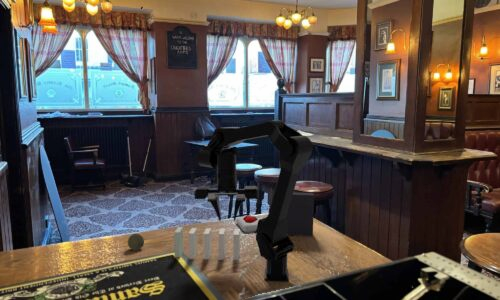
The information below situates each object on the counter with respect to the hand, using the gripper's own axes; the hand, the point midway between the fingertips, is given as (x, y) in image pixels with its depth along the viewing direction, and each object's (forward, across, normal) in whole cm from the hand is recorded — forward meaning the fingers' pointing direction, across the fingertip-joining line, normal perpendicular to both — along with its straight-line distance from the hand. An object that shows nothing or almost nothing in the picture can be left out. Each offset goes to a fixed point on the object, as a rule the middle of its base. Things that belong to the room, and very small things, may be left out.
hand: (227, 220), depth 115 cm
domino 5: (+12, -3, 0) cm, 12 cm away
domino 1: (+11, +15, -1) cm, 19 cm away
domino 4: (+12, +2, 0) cm, 12 cm away
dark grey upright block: (+12, -23, -22) cm, 34 cm away
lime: (+11, +30, -5) cm, 33 cm away
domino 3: (+12, +6, -1) cm, 13 cm away
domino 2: (+11, +11, -1) cm, 16 cm away
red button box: (+12, -7, -29) cm, 32 cm away
